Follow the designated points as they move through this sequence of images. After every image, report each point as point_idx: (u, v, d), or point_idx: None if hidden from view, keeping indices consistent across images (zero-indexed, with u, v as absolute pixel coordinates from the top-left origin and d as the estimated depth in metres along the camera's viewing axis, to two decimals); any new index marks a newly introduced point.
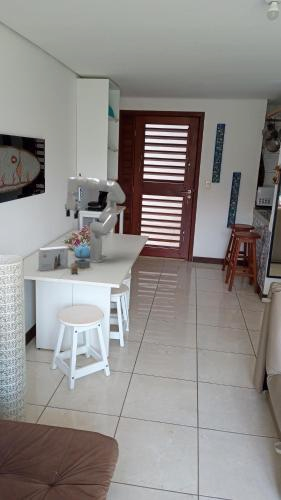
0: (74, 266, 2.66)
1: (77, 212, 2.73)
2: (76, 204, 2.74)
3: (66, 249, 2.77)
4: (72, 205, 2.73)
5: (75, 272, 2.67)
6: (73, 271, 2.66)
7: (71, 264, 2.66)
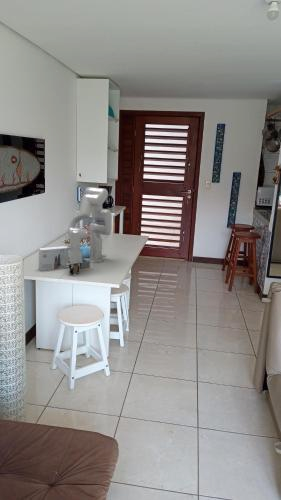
0: (74, 266, 2.66)
1: (79, 265, 2.71)
2: None
3: (66, 249, 2.77)
4: (80, 258, 2.67)
5: (75, 272, 2.67)
6: (73, 271, 2.66)
7: None
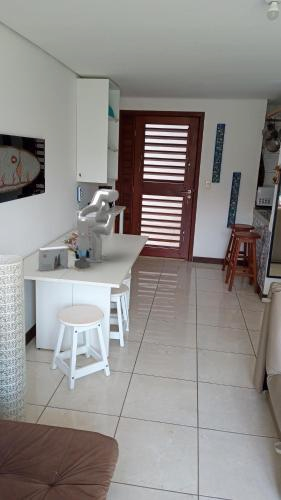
0: (82, 260, 2.80)
1: (89, 250, 2.85)
2: None
3: (66, 249, 2.77)
4: (88, 245, 2.80)
5: None
6: None
7: None
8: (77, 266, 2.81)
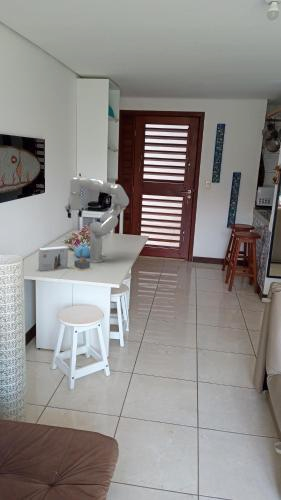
0: (82, 260, 2.80)
1: None
2: None
3: (66, 249, 2.77)
4: (80, 204, 2.82)
5: None
6: None
7: None
8: (77, 266, 2.81)
